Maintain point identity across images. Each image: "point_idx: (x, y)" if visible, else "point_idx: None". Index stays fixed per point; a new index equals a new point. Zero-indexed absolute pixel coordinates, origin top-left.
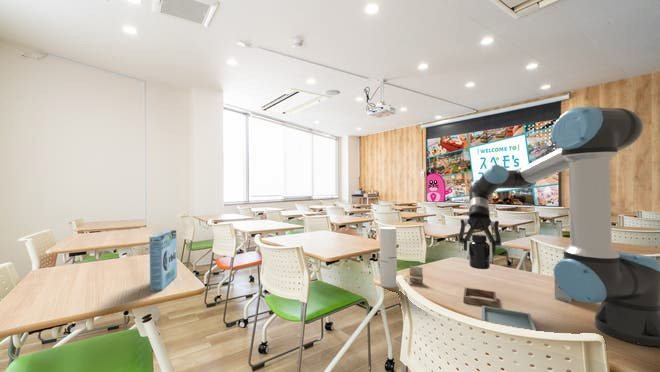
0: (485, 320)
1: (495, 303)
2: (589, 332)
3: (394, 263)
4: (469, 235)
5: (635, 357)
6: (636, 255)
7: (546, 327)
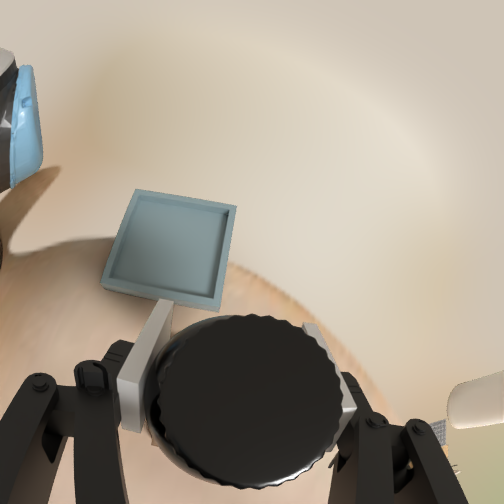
0: (222, 240)
1: None
2: (23, 253)
3: (502, 384)
4: (359, 470)
5: (26, 188)
6: None
7: (89, 253)
